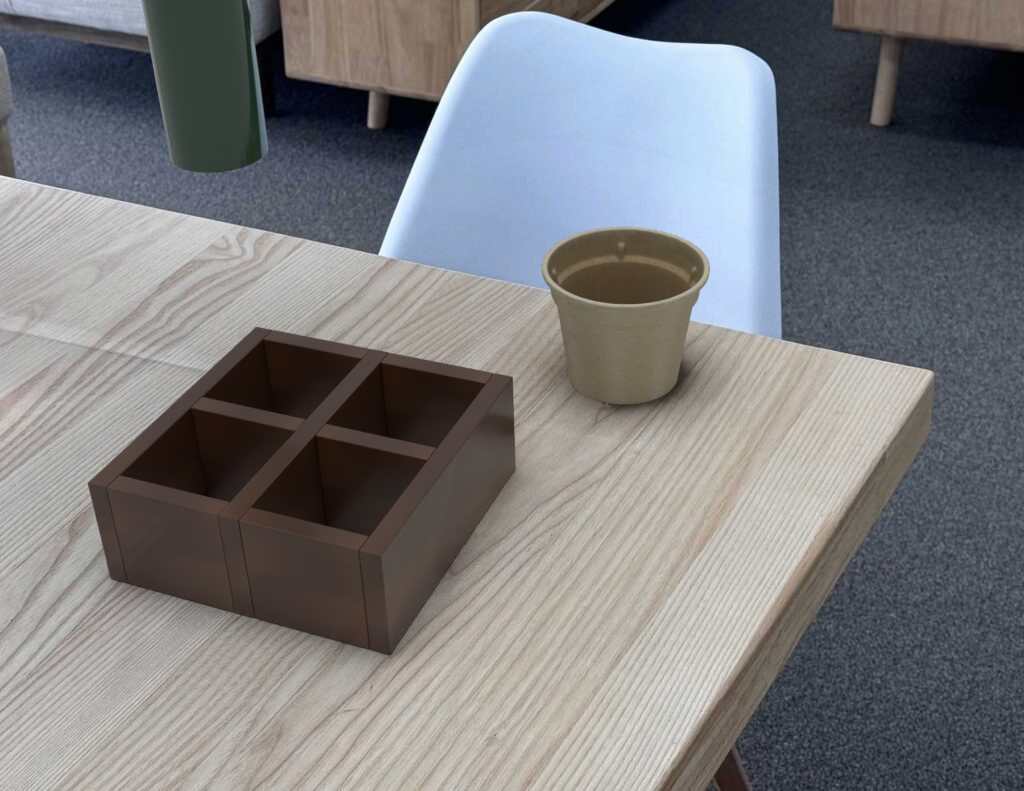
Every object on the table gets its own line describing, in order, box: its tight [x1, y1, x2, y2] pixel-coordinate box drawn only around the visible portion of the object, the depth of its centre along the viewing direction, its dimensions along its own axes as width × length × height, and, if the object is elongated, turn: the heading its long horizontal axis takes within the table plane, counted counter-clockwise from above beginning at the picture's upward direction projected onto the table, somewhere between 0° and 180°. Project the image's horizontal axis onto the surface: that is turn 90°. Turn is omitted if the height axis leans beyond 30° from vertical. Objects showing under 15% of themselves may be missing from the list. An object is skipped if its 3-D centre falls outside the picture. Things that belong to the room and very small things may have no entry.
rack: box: [87, 326, 517, 655], centre depth 72 cm, size 16×16×6 cm
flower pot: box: [541, 226, 711, 405], centre depth 81 cm, size 9×9×9 cm
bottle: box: [140, 0, 270, 174], centre depth 70 cm, size 5×5×16 cm
